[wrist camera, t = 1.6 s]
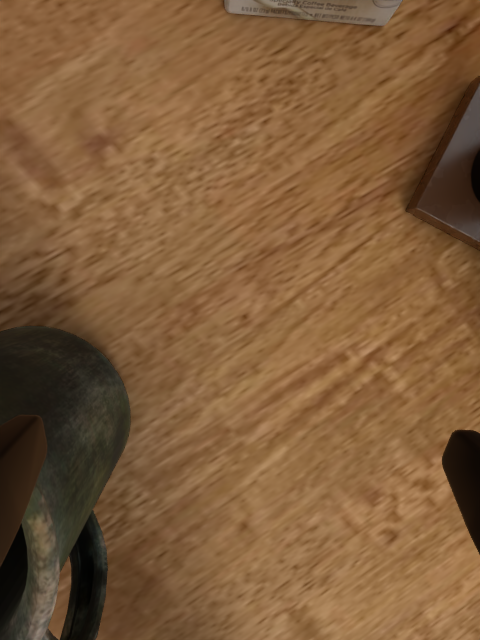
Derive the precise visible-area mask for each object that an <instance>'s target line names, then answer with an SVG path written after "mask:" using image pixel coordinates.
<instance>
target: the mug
mask: <svg viewBox="0 0 480 640" xmlns="http://www.w3.org/2000/svg"><path fill="white" fill-rule="evenodd" d="M18 415H38V416H40V417H41V418H42V421H43V425H44V430H45V436H46V441H47V454H46V457H45V460H44V463H43V466H42V468H41V471H40V474H39V476H38V479H37V482H36V484H35V487H34V490H33V493H32V495H31V498H30V501H29V503H28V506H27V509H26V512H25V514H24V517H23V519H22V522H21V524H20V527H19V529H18V532H17V534H16V536H15V538H14V540H13V542H12V544H11V546H10V548H9V551H8V553H7V555H6V557H5V559H4V561H3V563H2V565H1V567H0V640H58V639H57V638H56V637H55V636H53V635H52V633H51V632H50V631H49V629H48V625H49V622H50V619H51V616H52V613H53V610H54V607H55V604H56V598H57V591H58V583H59V576H60V571H61V569H62V567H63V566H64V564H65V562H66V560H67V558H68V556H69V557H70V562H71V591H70V598H69V605H68V611H67V615H66V619H65V623H64V627H63V630H62V634H61V638H60V640H96V638H97V635H98V631H99V626H100V622H101V617H102V612H103V607H104V602H105V597H106V584H107V571H108V566H107V549H106V545H105V541H104V538H103V534H102V531H101V528H100V526H99V523H98V521H97V518H96V516H95V514H94V512H93V508H94V506H95V504H96V502H97V500H98V498H99V496H100V494H101V493H102V491H103V489H104V487H105V485H106V483H107V481H108V479H109V477H110V475H111V473H112V471H113V469H114V468H115V466H116V464H117V462H118V460H119V458H120V456H121V454H122V452H123V450H124V448H125V445H126V442H127V439H128V436H129V430H130V406H129V400H128V396H127V393H126V390H125V387H124V384H123V382H122V380H121V378H120V377H119V375H118V373H117V371H116V370H115V369H114V367H113V366H112V364H111V363H110V362H109V360H108V359H107V358H106V357H105V356H104V355H103V354H102V353H101V352H100V351H99V350H97V349H96V348H95V347H93V346H92V345H91V344H89V343H88V342H86V341H85V340H83V339H81V338H79V337H77V336H75V335H73V334H71V333H68V332H65V331H62V330H59V329H54V328H49V327H43V326H25V327H16V328H12V329H8V330H5V331H1V332H0V426H1V425H3V424H4V423H6V422H8V421H9V420H11V419H13V418H14V417H16V416H18Z"/></svg>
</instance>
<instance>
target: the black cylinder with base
mask: <svg viewBox="0 0 480 640" xmlns="http://www.w3.org/2000/svg"><path fill="white" fill-rule="evenodd" d="M406 212H408V213H410V214H412V215H414V216H416V217H418V218H419V219H421V220H423V221H425V222H427V223H429V224H431V225H433V226H435V227H436V228H438V229H440V230H442V231H444V232H446V233H448V234H450V235H452V236H453V237H455V238H457V239H459V240H461V241H463V242H465V243H467V244H468V245H470V246H472V247H474V248H476V249H478V250H480V76H478V77H477V78H476V79H474V80H473V81H472V82H471V83H470V85H469V87H468V89H467V91H466V93H465V95H464V97H463V99H462V101H461V103H460V105H459V107H458V109H457V111H456V113H455V115H454V117H453V119H452V121H451V123H450V125H449V127H448V128H447V130H446V132H445V134H444V136H443V138H442V140H441V142H440V144H439V146H438V148H437V150H436V152H435V154H434V156H433V158H432V160H431V162H430V164H429V166H428V168H427V170H426V172H425V174H424V176H423V178H422V180H421V182H420V184H419V186H418V188H417V190H416V191H415V193H414V195H413V197H412V199H411V201H410V203H409V205H408V207H407V209H406Z"/></svg>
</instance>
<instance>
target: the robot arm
mask: <svg viewBox="0 0 480 640" xmlns="http://www.w3.org/2000/svg"><path fill="white" fill-rule="evenodd" d="M46 454H47V441H46V436H45V430H44V425H43V421H42V418H41V417H40V416H38V415H18V416H16V417H14V418H13V419H11V420H9V421H8V422H6V423H4V424H3V425H1V426H0V567H1V565H2V563H3V561H4V559H5V557H6V555H7V553H8V551H9V548H10V546H11V544H12V542H13V540H14V538H15V536H16V534H17V532H18V529H19V527H20V524H21V522H22V519H23V517H24V514H25V512H26V509H27V506H28V503H29V501H30V498H31V495H32V493H33V490H34V487H35V484H36V482H37V479H38V476H39V474H40V471H41V468H42V466H43V463H44V460H45V457H46ZM442 465H443V469H444V471H445V474H446V476H447V479H448V481H449V484H450V486H451V489H452V491H453V494H454V496H455V499H456V501H457V504H458V507H459V509H460V512H461V514H462V517H463V519H464V522H465V524H466V526H467V529H468V531H469V533H470V536H471V538H472V540H473V542H474V544H475V546H476V548H477V550H478V552H479V554H480V433H478V432H476V431H473V430H455V431H454V432H453V433H452V434H451V437H450V439H449V441H448V444H447V446H446V449H445V451H444V453H443V456H442Z"/></svg>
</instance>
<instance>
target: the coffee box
mask: <svg viewBox="0 0 480 640" xmlns="http://www.w3.org/2000/svg"><path fill="white" fill-rule="evenodd" d="M402 1H403V0H224V6H225V10H226V11H227V12H229V13H234V14H246V15H259V16H270V17H284V18H294V19H305V20H318V21H328V22H341V23H351V24H365V25H378V26H384V25H386V24H387V22H388V21H389V20H390V18H391V17H392V15H393V14H394V12H395V11H396V10H397V8H398V7H399V5H400V4H401V2H402Z"/></svg>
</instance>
